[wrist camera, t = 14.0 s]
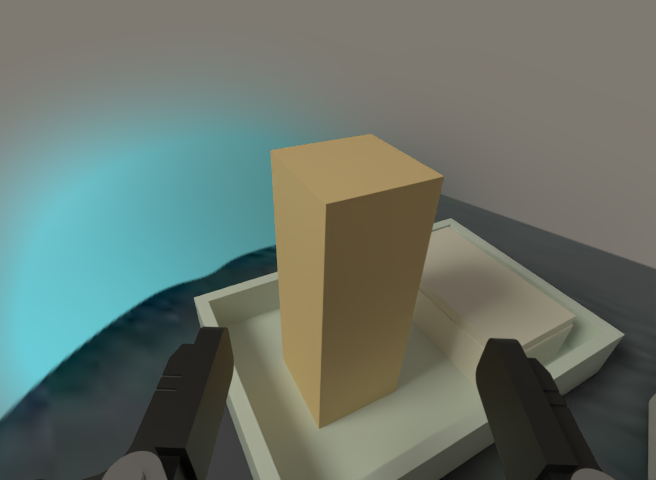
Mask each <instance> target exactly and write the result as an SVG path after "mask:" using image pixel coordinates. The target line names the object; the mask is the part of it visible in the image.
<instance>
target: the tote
mask: <svg viewBox="0 0 656 480" xmlns="http://www.w3.org/2000/svg"><path fill="white" fill-rule="evenodd" d="M446 227H449V228H451V229H452V230H454V231H455V232H457V233H458V234H459V235H461V236H462V237H464V238H465V239H467V240H468V241H469V242H471V243H472V244H474V245H475V246H477V247H478V248H480V249H481V250H482V251H484V252H485V253H487V254H488V255H490V256H491V257H492V258H494V259H495V260H497V261H498V262H500V263H501V264H502V265H504V266H505V267H507V268H508V269H510V270H511V271H513V272H514V273H515V274H517V275H518V276H520V277H521V278H523V279H524V280H525V281H527V282H528V283H530V284H531V285H533V286H534V287H536V288H537V289H538V290H540V291H541V292H543V293H544V294H546V295H547V296H548V297H550V298H551V299H553V300H554V301H556V302H557V303H559V304H560V305H561V306H563V307H564V308H566V309H567V310H569V311H570V312H571V313H573V314H574V315H576V317H575V319H574V321H573V322H572V324H573V327H572V329H571V330H570V332H569V334H568V335H567V337H566V339H565V341H564V342H563V344H562V346H561V347H560V349H559V351H558V353H557V354H556V356H555V357H553V358H551V359H550V360H548V361H546V362H545V363H543V364H542V365H543V366H544V367H545V368H546V369H547V370H548V371H549V372H550V374H551V376H552V377H553V379H554V381H555V383H556V385H557V387H558V389H559V393H560V394H561V395H562V396H563V395H565V394H566V393H568V392H569V391H571V390H572V389H574V388H575V387H577V386H578V385H580V384H581V383H583V382H584V381H585V380H587V379H588V378H590V377H591V376H593V375H594V374H596V373H597V372H598V371H599V370H600V368H601V367H602V366H603V364H604V363H605V361H606V360H607V358H608V357H609V356H610V354H611V353H612V351H613V350H614V349H615V347H616V346H617V344H618V343H619V342H620V340H621V339H622V337H623V336H624V335H625V334H623V333H622V332H620V331H619V330H617V329H616V328H614V327H613V326H611V325H610V324H608V323H607V322H605V321H604V320H602V319H601V318H599V317H598V316H596V315H595V314H593V313H592V312H590V311H589V310H587V309H586V308H584V307H583V306H581V305H580V304H578V303H577V302H575V301H574V300H572V299H571V298H569V297H568V296H566V295H565V294H563V293H562V292H560V291H559V290H558V289H556V288H555V287H553V286H552V285H550V284H549V283H547V282H546V281H544V280H543V279H541V278H540V277H538V276H537V275H535V274H534V273H532V272H531V271H529V270H528V269H526V268H525V267H523V266H522V265H520V264H519V263H517V262H516V261H514V260H513V259H511V258H510V257H508V256H507V255H505V254H504V253H502V252H501V251H499V250H498V249H496V248H495V247H493V246H492V245H490V244H489V243H487V242H486V241H484V240H483V239H481V238H480V237H478V236H477V235H475V234H474V233H472V232H471V231H469V230H468V229H466V228H465V227H463V226H462V225H460V224H459V223H457V222H456V221H454V220H453V219H451V218H450V219H447V220H443V221H440V222H437V223H434V224H433V228H432V232H433V231H437V230H440V229H443V228H446ZM194 301H195V305H196V309H197V313H198V317H199V322H200V326H201V328H202V327H203V326H205V327H227V328H228V330H229V335H230V340H231V346H232V351H233V356H234V370H233V377H232V381H231V384H230V388H229V392H228V396H227V400H226V403H227V406H228V409H229V412H230V414H231V417H232V420H233V423H234V426H235V429H236V431H237V434H238V437H239V440H240V443H241V446H242V448H243V451H244V454H245V457H246V460H247V463H248V465H249V468H250V471H251V474H252V477H253V480H439V479H441V478H442V477H444V476H445V475H446V474H448V473H449V472H451V471H452V470H454V469H455V468H457V467H458V466H460V465H461V464H463V463H464V462H466V461H467V460H469V459H470V458H472V457H473V456H475V455H476V454H478V453H479V452H480V451H482V450H483V449H485V448H486V447H488V446H489V445H491V444H492V443H494V442H495V441H494V438H493V435H492V432H491V429H490V426H489V423H488V420H487V417H486V414H485V411H484V408H483V405H482V402H481V399H480V395H479V392H478V389H477V388H476V387H475V386H474V385H473V384H472V383H471V382H470V381H469V380H468V379H467V377H466V376H465V375H464V374H463V373H462V372H461V371H460V370H459V369H458V368H457V367H456V366H455V365H454V364H453V363H452V362H451V361H450V360H449V359H448V358H447V357H446V356H445V354H444V353H443V352H442V351H441V350H440V349H439V348H438V347H437V346H436V345H435V344H434V343H433V342H432V341H431V340H430V339H429V338H428V337H427V336H426V335H425V334H424V333H423V331H422V330H421V329H420V328H419V327H418V326H417V325H416V324H415V323H414V322H413V321H411V326H410V330H409V335H408V339H407V344H406V348H405V352H404V357H403V361H402V366H401V370H400V375H399V379H398V383H397V388H396V391H395V392H393V393H391V394H389V395H387V396H385V397H383V398H381V399H379V400H376V401H374V402H372V403H370V404H368V405H366V406H364V407H362V408H360V409H358V410H356V411H354V412H352V413H350V414H348V415H346V416H344V417H342V418H340V419H338V420H336V421H334V422H332V423H330V424H328V425H326V426H324V427H322V428H320V429H319V428H318V426H317V424H316V422H315V420H314V418H313V416H312V414H311V412H310V411H309V409H308V407H307V405H306V403H305V401H304V399H303V397H302V395H301V393H300V391H299V389H298V387H297V385H296V383H295V381H294V379H293V377H292V375H291V373H290V371H289V369H288V367H287V366H286V364H285V362H284V360H283V350H282V333H281V316H280V299H279V282H278V272H275V273H272V274H269V275H266V276H263V277H259V278H256V279H253V280H250V281H246V282H243V283H240V284H237V285H233V286H230V287H227V288H224V289H221V290H217V291H214V292H211V293H208V294H204V295H201V296H198V297H195V298H194Z"/></svg>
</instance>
